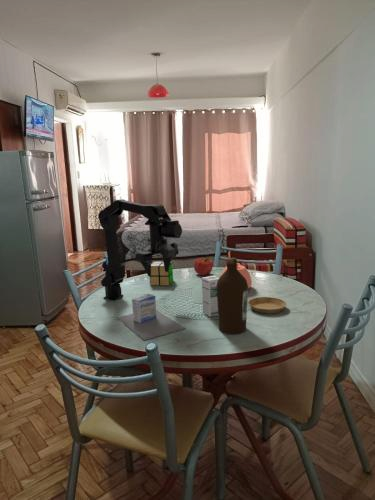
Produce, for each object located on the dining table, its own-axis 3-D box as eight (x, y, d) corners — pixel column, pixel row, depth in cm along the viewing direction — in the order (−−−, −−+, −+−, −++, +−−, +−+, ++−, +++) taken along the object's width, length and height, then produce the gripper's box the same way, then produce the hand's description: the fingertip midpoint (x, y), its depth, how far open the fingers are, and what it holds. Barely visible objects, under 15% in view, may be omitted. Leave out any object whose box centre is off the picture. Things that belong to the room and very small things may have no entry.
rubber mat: (117, 318, 140) (117, 317, 140) (154, 309, 148) (154, 308, 148) (144, 340, 120) (143, 339, 119) (185, 328, 128) (185, 327, 128)
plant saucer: (244, 303, 152) (244, 297, 151) (278, 301, 153) (278, 295, 152) (253, 317, 137) (253, 310, 137) (291, 314, 138) (292, 308, 138)
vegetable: (215, 272, 202) (215, 254, 200) (212, 277, 192) (212, 258, 190) (196, 271, 205) (196, 254, 203) (192, 276, 195) (191, 258, 193)
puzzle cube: (154, 280, 191) (153, 261, 189) (173, 280, 189) (172, 261, 187) (149, 285, 181) (148, 266, 179) (169, 286, 180) (168, 266, 178)
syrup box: (210, 317, 138) (209, 280, 135) (202, 312, 143) (201, 276, 140) (222, 314, 140) (222, 277, 137) (214, 309, 145) (214, 274, 142)
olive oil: (215, 334, 123) (213, 261, 118) (219, 322, 133) (218, 255, 128) (247, 336, 120) (247, 262, 116) (248, 323, 131) (248, 255, 126)
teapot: (248, 297, 159) (248, 270, 156) (214, 295, 163) (213, 268, 161) (254, 283, 179) (254, 258, 177) (223, 281, 184) (223, 257, 181)
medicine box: (140, 323, 133) (139, 301, 131) (132, 320, 136) (131, 298, 134) (156, 317, 138) (155, 295, 136) (149, 314, 141) (148, 293, 140)
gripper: (152, 242, 134) (153, 282, 137) (187, 235, 147) (188, 272, 150) (133, 238, 141) (135, 277, 145) (168, 232, 154) (169, 268, 158)
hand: (158, 274), depth 149 cm, fingers open, 9 cm apart
